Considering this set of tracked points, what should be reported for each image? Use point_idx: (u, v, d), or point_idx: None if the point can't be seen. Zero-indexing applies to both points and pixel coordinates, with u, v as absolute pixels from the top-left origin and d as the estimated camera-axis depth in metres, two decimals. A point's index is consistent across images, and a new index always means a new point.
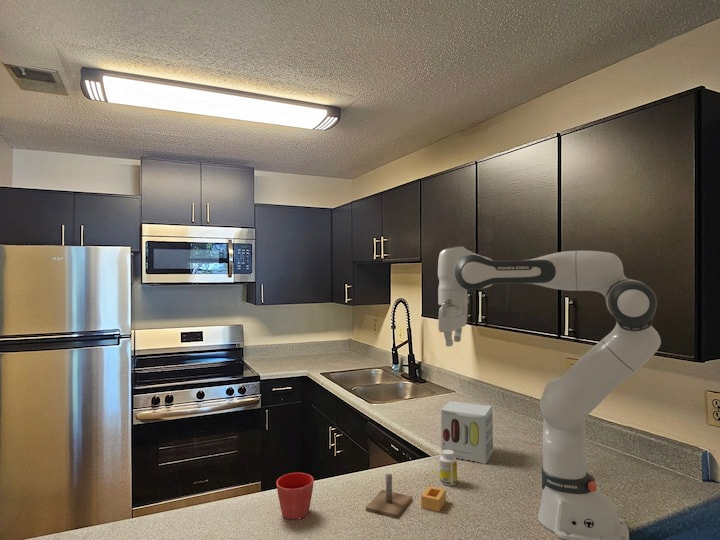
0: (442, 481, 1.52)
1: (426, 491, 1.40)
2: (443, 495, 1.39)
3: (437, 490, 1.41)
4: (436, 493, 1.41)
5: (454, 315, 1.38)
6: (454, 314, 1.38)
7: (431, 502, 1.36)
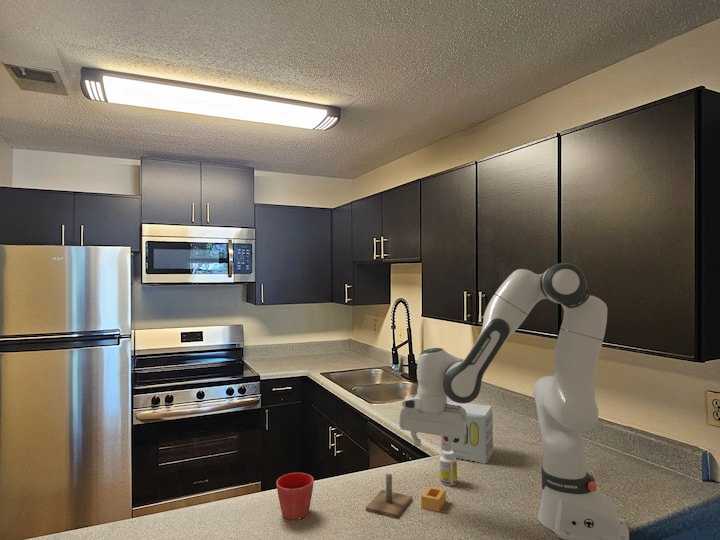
0: (442, 481, 1.52)
1: (426, 491, 1.40)
2: (443, 495, 1.39)
3: (437, 490, 1.41)
4: (436, 493, 1.41)
5: None
6: None
7: (431, 502, 1.36)
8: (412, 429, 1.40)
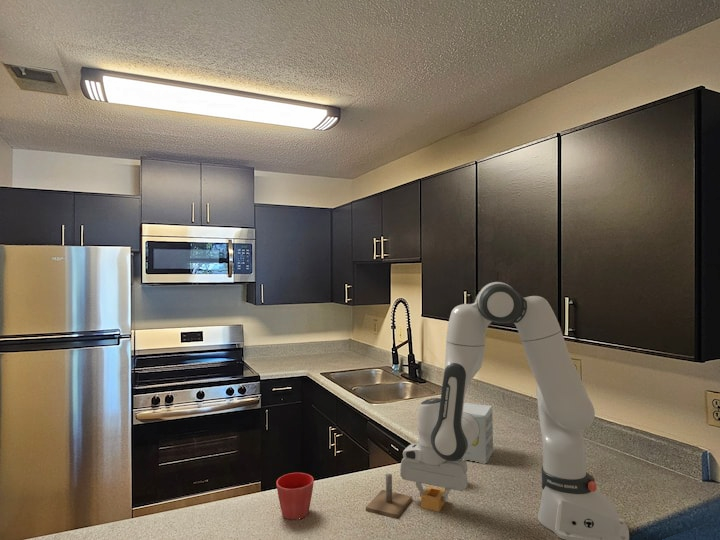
0: None
1: (426, 491, 1.40)
2: None
3: (437, 490, 1.41)
4: (436, 493, 1.41)
5: None
6: None
7: (431, 502, 1.36)
8: (413, 479, 1.40)
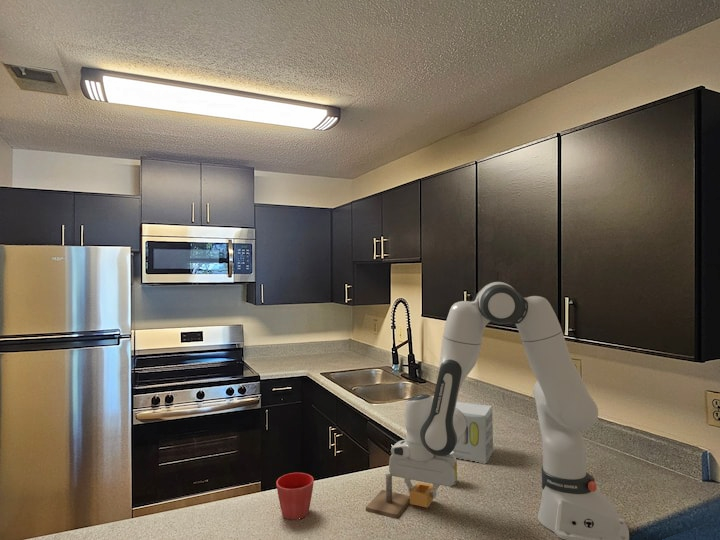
0: None
1: (415, 487, 1.40)
2: None
3: (426, 486, 1.41)
4: (425, 489, 1.41)
5: None
6: None
7: (419, 498, 1.36)
8: (402, 476, 1.40)
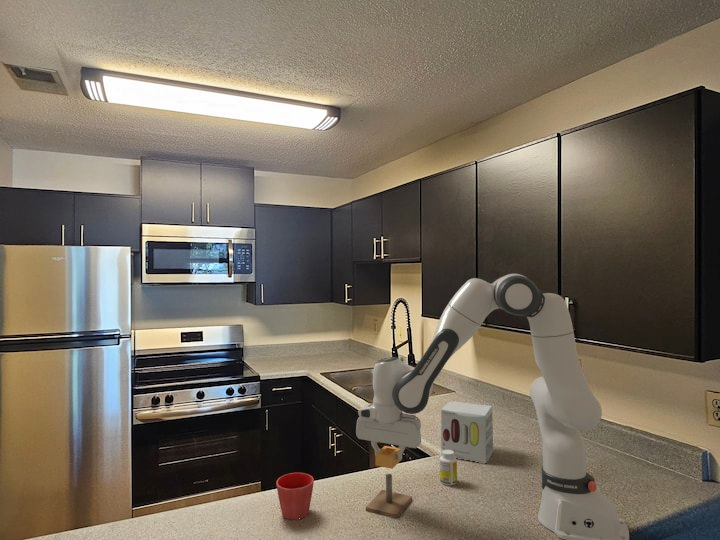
0: (442, 481, 1.52)
1: (381, 450, 1.40)
2: None
3: (392, 449, 1.41)
4: (391, 452, 1.41)
5: None
6: None
7: (385, 459, 1.36)
8: (368, 438, 1.40)
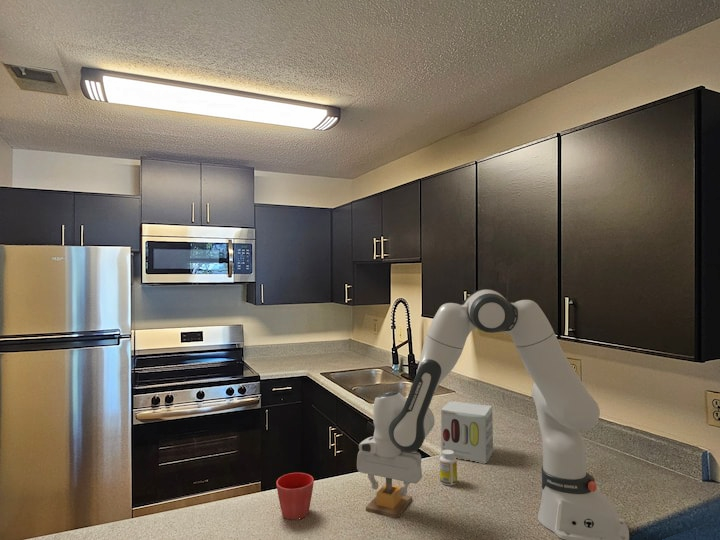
0: (442, 481, 1.52)
1: (382, 488, 1.40)
2: (399, 492, 1.39)
3: (393, 487, 1.41)
4: (392, 490, 1.41)
5: None
6: None
7: (386, 499, 1.36)
8: (369, 472, 1.40)
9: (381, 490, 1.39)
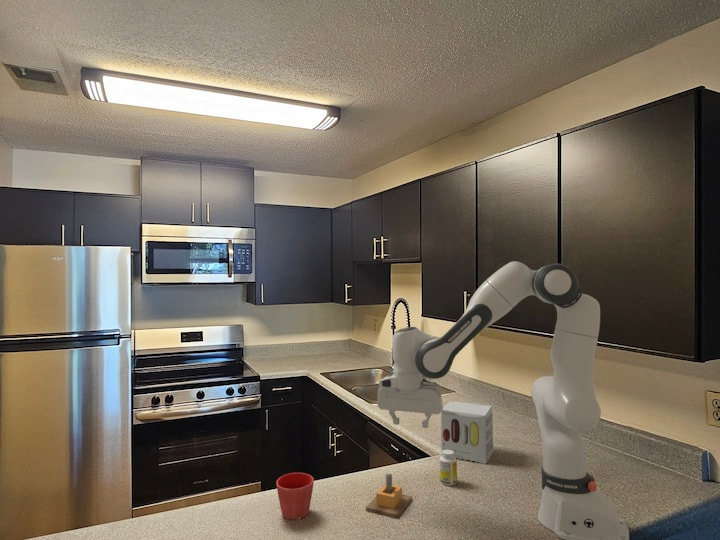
0: (442, 481, 1.52)
1: (382, 488, 1.40)
2: (399, 492, 1.39)
3: (393, 487, 1.41)
4: (392, 490, 1.41)
5: None
6: None
7: (386, 499, 1.36)
8: (390, 408, 1.42)
9: (381, 490, 1.39)
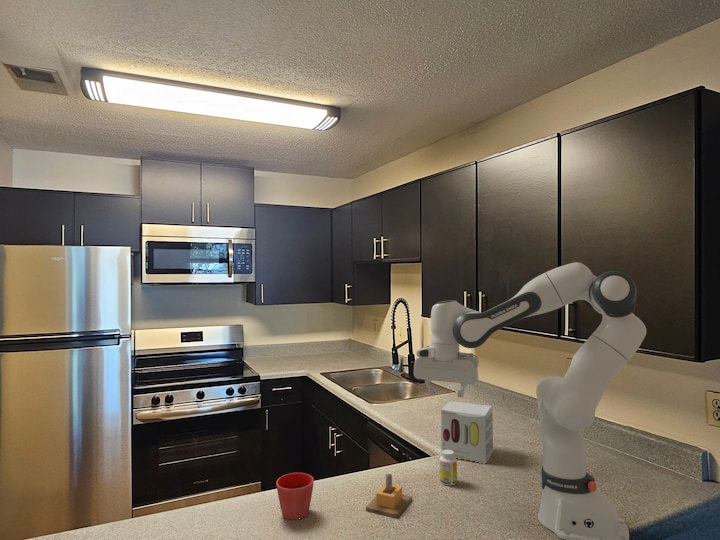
0: (442, 481, 1.52)
1: (382, 488, 1.40)
2: (399, 492, 1.39)
3: (393, 487, 1.41)
4: (392, 490, 1.41)
5: None
6: None
7: (386, 499, 1.36)
8: (426, 377, 1.46)
9: (381, 490, 1.39)
